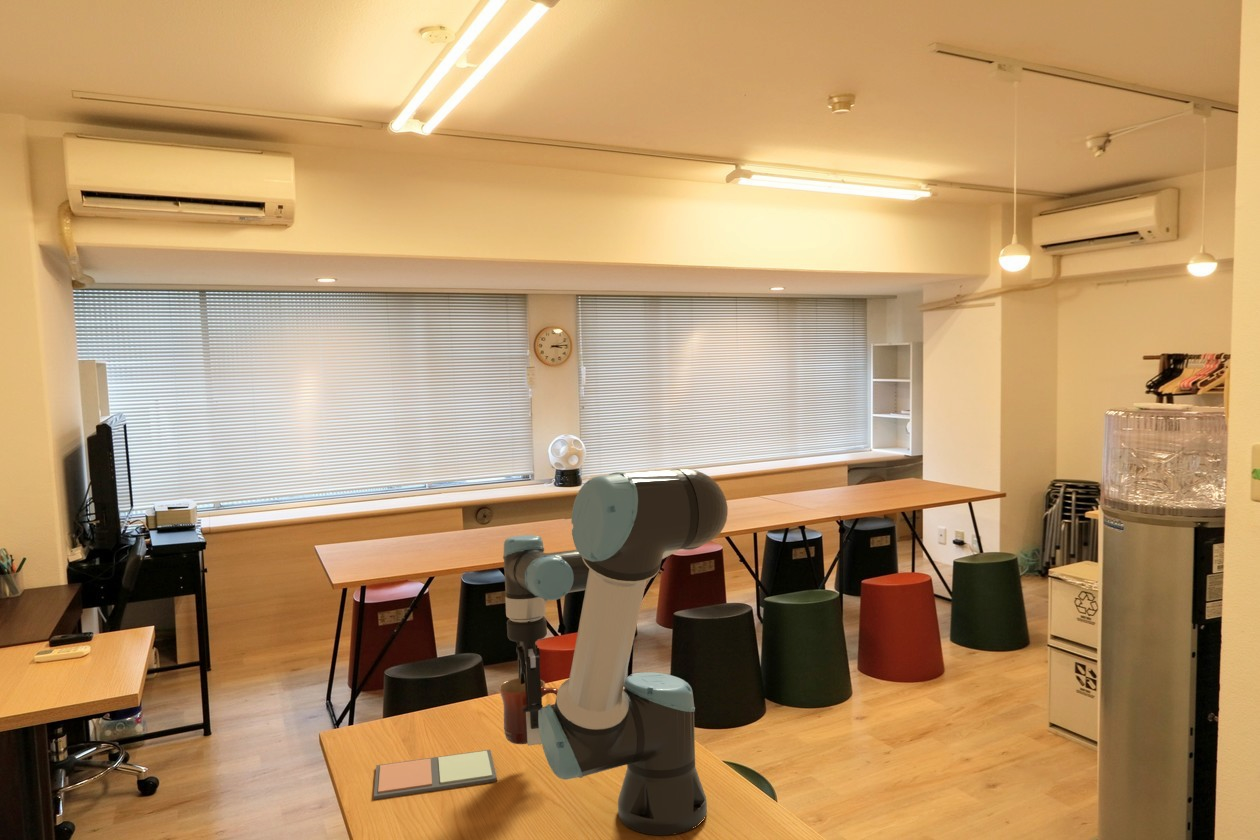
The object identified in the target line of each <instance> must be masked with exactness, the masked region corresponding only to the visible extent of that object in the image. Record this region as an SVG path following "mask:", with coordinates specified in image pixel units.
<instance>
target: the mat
mask: <svg viewBox="0 0 1260 840" xmlns="http://www.w3.org/2000/svg"><path fill="white" fill-rule="evenodd" d="M496 772H497V771H496V767H495V764H494V760H493V755H492V750H491V749H485V750H478V751H470V752H463V753H456V754H454V753H453V754H448V755H442V756H434V757H427V758H426V757H425V758H420V759H413V760H404V761H403V760H402V761H397V762H390V763H383V764H376V766H375V777H374V789H373V800H380V799H387V798H394V797H400V796H408V795H413V794H421V793H427V792H433V791H441V790H447V789H455V788H462V787H467V786H468V787H469V786H474V785H481V784H488V783H489V784H490V783H495V782H496V783H497V781H498V778H497V773H496Z"/></svg>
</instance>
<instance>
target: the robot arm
mask: <svg viewBox="0 0 1260 840" xmlns="http://www.w3.org/2000/svg"><path fill="white" fill-rule="evenodd" d="M728 512H729V511H728V501H727V499H726V496H725V494H724V492H723V490H722V488H721V487H720V485H719V484H718V483H717V482H716V481H715V480H714V479H713V478H711V477H710V476H709V475H707V474H706V473H703V472H700V471H698V470H696V469H691V468H682V467H681V468H672V469H661V470H652V471H651V470H649V471H648V470H647V471H639V472H627V473H625V472H612V473H609V474H607V475H598V476H594V477H592V478H591V479H588V480H587V481H586V482H584V483H583V485H582V486H581V487H580V489H579V490H578V492H577V494H576V496H575V499H574V501H573V505H572V510H571V524H572V526H573V527H572V529H571V535H572V540H573V543H574V547H575V549H573V550H572V549H571V550H563V551H555V552H545V548H544V542H543V539H542V537H541V536H540V535H536V534H524V535H523V534H522V535H514V536H510V537H507V538H506V539H505V540H504V542H503V555H502V559H503V564H504V565H503V566H504V567H503V569H504V586H505V587H504V588H505V589H504V591H505V597H504V598H505V615H506V618H508V619H507V621H506V631H507V635H506V636H507V639H509V641H512V642H515V643H516V655H517V665H518V667H517V668H518V669H517V670H518V675H517V676H518V678H520V679H521V684H524V683H525V691H526V702H527V707H526V709H523V712H526V725H527V744H526V745H527V747H530V746H535V745H536V746H537V745H541V746H542V749H543V753H544V756H545V759H546V761H547V763H548V766H549V767H550V769H551V771H552V772H553V774H554V775H555V777H557V778H559V779H561V780H572V779H578V778H580V779H581V778H584V777H586V776H590V775H594V774H596V773H597V774H598V773H600V772H601V773H602V772H605V771H608V770H612V769H615V768H620V767H623V766H626V772H625V774H624V778H623V781H622V785H621V788H620V792H619V795H618V799H617V812H618V813H617V815H618V818H619V820H620V822H621V823H622V824H623V825H625V827H627V828H630V829H631V830H633V831H635V832H638V833H642V834H646V835H653V836H670V835H669V834H672V835H675V834H674V833H678V834H682V833H681V832H683V833H686V832H688V831H687V830H689V831H691V830H693V829H694V828H693V827H695V826H697V825H698V824H699V823H700V822H701V821H702V820H703V819H704V817H705V816H706V817H707V815H706V813H707V814H708V805H707V802H708V801H707V796H706V793H705V790H704V788H703V785H702V782H701V779H700V776H699V773H698V771H697V768H696V745H695V744H696V742H695V741H696V740H695V739H696V738H695V712H696V707H695V702H694V694H693V689H692V686H691V685H690V684H689V682H687V681H686V680H685V679H682V678H680V677H678V676H675V675H671V674H668V673H667V674H666V673H661V672H651V671H649V672H636V673H631V674H630V675H628V676H627V671H628V667H629V663H630V658H631V653H632V649H633V645H634V640H635V636H636V635H635V634H636V631H637V627H638V623H639V618H640V612H641V608H642V603H643V599H644V593H645V589H646V586H647V581H648V580H651V579H652V578H655V576H656V575H657V574H658V573H659V571H660V569H661V567H662V565H661V564H662V561H663V560H665V558H667V557H669V556H671V555H673V554H675V553H677V552H679V551H680V550H684V551H691V550H696V549H698V548H700V547H702V546H704V545H706V544H708V543H710V542H712V541H713V540H715V539H716V538H717V537H718V536H719V535H720V534H721V533H722V531H723V530H724V528H725V525H726V523H727V520H728V514H729V513H728ZM582 591H584V597H583V601H582V607H581V613H580V617H579V623H578V629H577V635H576V641H575V646H574V651H573V656H572V657H573V658H572V663H571V667H570V668H571V669H570V673H569V678H568V679H566V680H565V681H564V682H562V684H561V685H560V686H559V688H557V689H558V692H557V696H556V698H555V702H554V704H550V703H549V704H546V705H545V706H543V697H541V681H540V680H541V667H540V666H541V664H540V663H541V662H540V661H541V657H540V656H541V653H540V651H541V650H540V647H538V644H536V642H538V641H541V640H543V639H545V638H546V637H547V634H548V629H547V627H548V626H547V625H548V624H547V618H546V616H545V614H547V613H546V610H547V609H546V608H547V607H546V604H547V603H548V602H549V601H557V600H560V599H561V598H563V597H565V596H566V595H567V594H568V593H575V592H582ZM626 676H627V677H626ZM697 827H698V826H697ZM692 828H693V829H692ZM695 828H696V827H695ZM690 829H691V830H690ZM685 831H686V832H685Z"/></svg>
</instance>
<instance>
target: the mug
mask: <svg viewBox="0 0 1260 840" xmlns="http://www.w3.org/2000/svg"><path fill="white" fill-rule="evenodd" d="M540 681H541V697H542V698H543V697H544V696H546V695H549V694H553V695H555V696H556V697H557V692H558V689H559V688H556V687H546V682H545V681H544V680H542V679H540ZM498 690H499V694H500V696H501V699H502V703H503V730H504V735H505V739H506V740H507V741H508V742H509V743H511V744H513V745H514V744H515V745H527V725H526V712H523V709H526V707H527V702H526V691H525V683H524V684H521V679H520V678H519V677H518V678H513V679H510V680H506V681H504V682H502V683H501V684H499V686H498Z"/></svg>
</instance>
